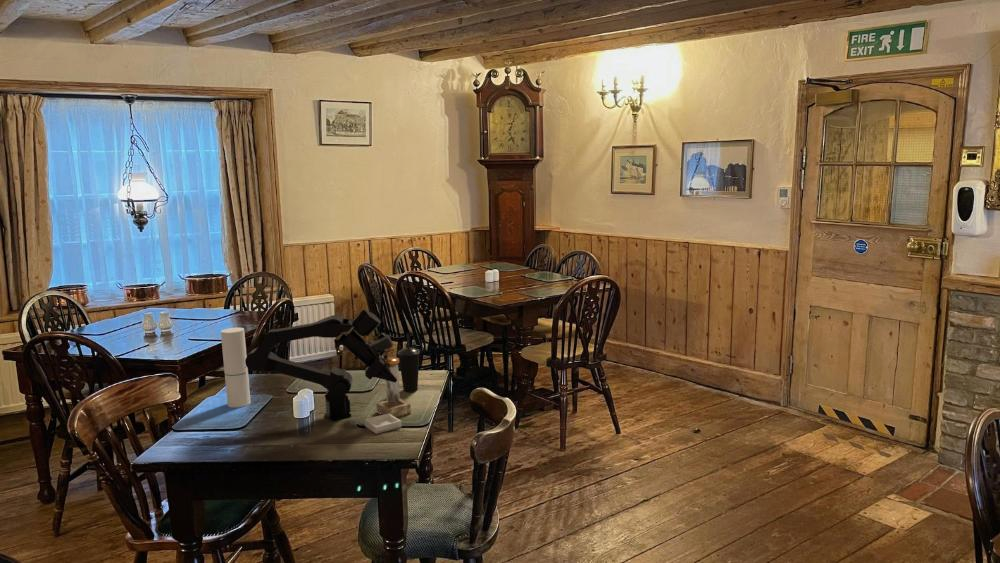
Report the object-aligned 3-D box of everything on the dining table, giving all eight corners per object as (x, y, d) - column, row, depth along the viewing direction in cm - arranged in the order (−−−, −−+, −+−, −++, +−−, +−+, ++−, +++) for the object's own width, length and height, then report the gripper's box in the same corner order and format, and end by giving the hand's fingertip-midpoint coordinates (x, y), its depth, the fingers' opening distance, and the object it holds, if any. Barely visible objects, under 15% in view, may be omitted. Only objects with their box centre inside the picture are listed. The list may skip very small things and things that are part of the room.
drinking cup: (420, 393, 241) (417, 336, 237) (397, 393, 241) (394, 336, 237) (423, 386, 248) (420, 330, 245) (401, 386, 248) (398, 330, 245)
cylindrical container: (254, 400, 238) (247, 327, 233) (244, 407, 231) (237, 332, 226) (233, 400, 238) (227, 327, 234) (223, 407, 231) (216, 332, 227)
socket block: (388, 419, 217) (387, 409, 217) (376, 412, 224) (376, 403, 223) (410, 413, 222) (410, 404, 221) (399, 406, 228) (398, 397, 227)
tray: (376, 433, 206) (376, 427, 205) (364, 425, 212) (363, 419, 212) (401, 427, 210) (401, 420, 210) (389, 419, 217) (388, 413, 217)
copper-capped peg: (389, 403, 218) (387, 362, 216) (382, 399, 222) (380, 359, 220) (404, 400, 221) (402, 359, 219) (396, 396, 225) (394, 356, 223)
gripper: (374, 335, 208) (413, 369, 211) (378, 320, 227) (414, 352, 230) (348, 362, 209) (388, 396, 212) (354, 346, 227) (391, 377, 230)
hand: (396, 379), depth 221 cm, fingers closed on copper-capped peg, 4 cm apart
